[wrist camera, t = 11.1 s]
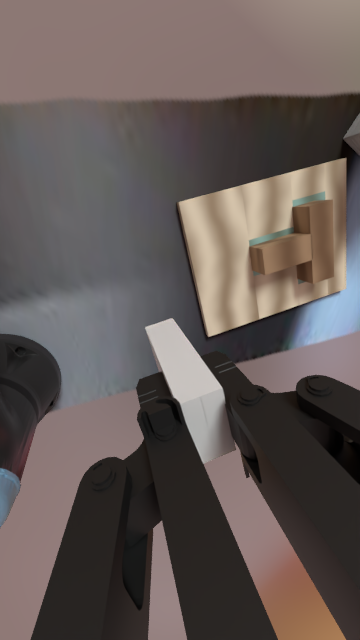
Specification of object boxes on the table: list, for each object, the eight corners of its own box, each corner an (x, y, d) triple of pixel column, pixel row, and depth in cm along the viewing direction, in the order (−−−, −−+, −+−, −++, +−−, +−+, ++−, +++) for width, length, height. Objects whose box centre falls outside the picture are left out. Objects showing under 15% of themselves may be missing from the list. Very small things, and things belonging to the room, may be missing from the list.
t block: (255, 293, 48) (268, 299, 44) (245, 220, 43) (258, 221, 39) (316, 272, 50) (334, 276, 46) (314, 200, 45) (332, 199, 41)
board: (206, 334, 49) (208, 337, 48) (176, 202, 41) (178, 202, 40) (341, 287, 54) (346, 288, 53) (340, 158, 45) (346, 157, 44)
